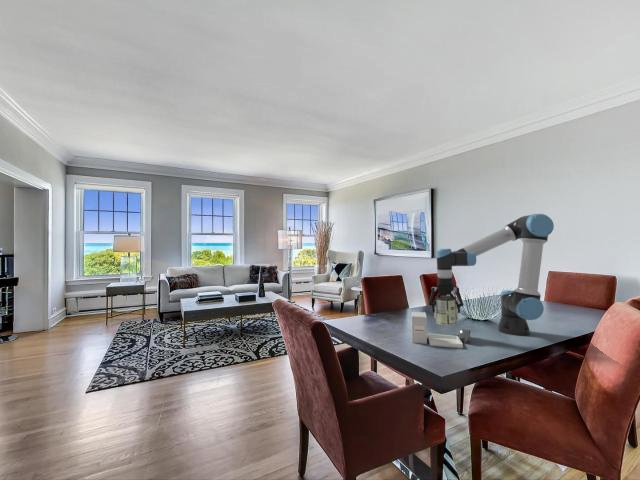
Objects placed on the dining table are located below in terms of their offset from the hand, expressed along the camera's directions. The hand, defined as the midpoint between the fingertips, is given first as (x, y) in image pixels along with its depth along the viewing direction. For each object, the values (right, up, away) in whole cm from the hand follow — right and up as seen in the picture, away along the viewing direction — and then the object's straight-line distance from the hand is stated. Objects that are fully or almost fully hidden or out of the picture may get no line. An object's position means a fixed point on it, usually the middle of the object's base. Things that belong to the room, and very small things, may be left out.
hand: (446, 318), depth 169 cm
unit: (-17, -9, -9) cm, 21 cm away
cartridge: (+4, -9, -12) cm, 16 cm away
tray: (-6, -9, -13) cm, 17 cm away
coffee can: (0, -3, 0) cm, 3 cm away
